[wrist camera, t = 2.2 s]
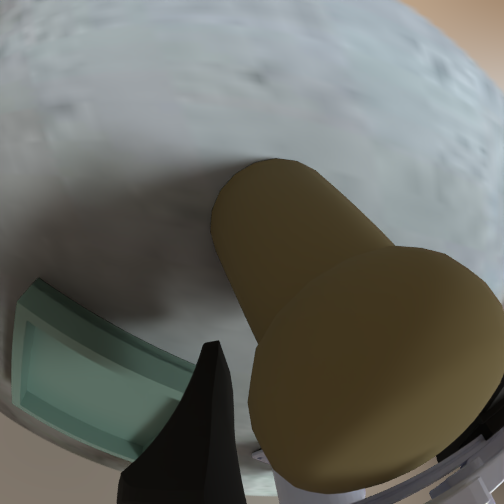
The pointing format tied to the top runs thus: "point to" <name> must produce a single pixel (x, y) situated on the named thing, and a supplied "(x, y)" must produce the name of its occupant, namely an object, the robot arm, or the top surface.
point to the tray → (91, 375)
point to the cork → (350, 332)
